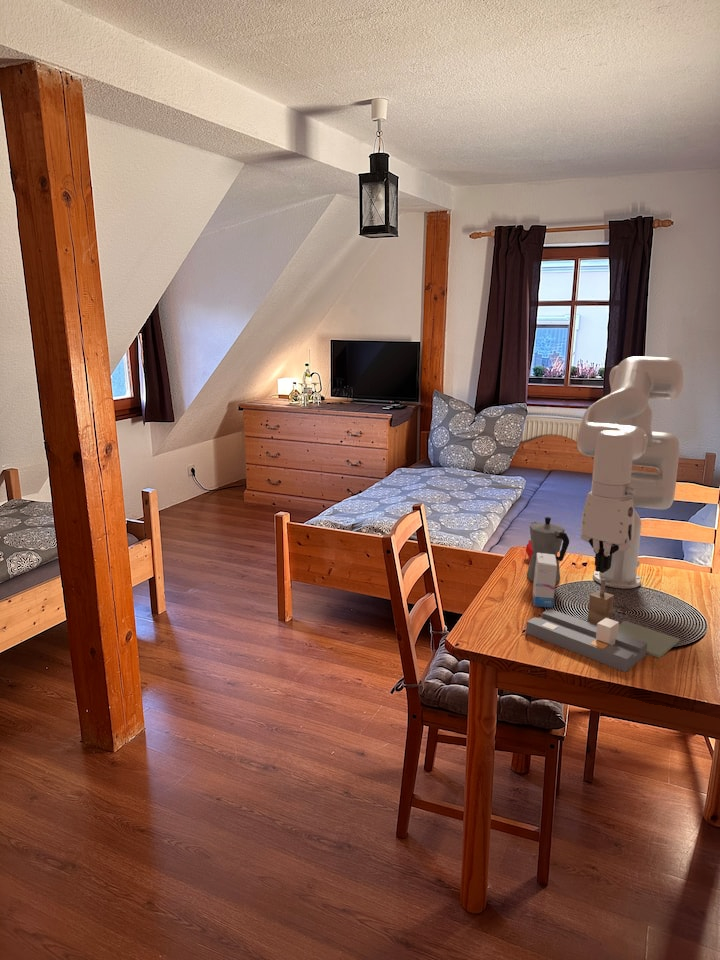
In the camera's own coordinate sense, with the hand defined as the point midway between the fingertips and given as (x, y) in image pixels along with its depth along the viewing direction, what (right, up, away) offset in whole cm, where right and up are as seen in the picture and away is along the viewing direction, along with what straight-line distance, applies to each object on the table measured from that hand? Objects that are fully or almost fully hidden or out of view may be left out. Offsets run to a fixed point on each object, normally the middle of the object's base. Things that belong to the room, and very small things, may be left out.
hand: (602, 570), depth 146 cm
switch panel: (-2, -17, +6) cm, 19 cm away
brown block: (+5, -15, +15) cm, 22 cm away
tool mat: (+12, -17, +8) cm, 22 cm away
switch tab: (+2, -16, +2) cm, 17 cm away
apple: (+1, -5, +58) cm, 58 cm away
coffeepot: (-1, -8, +42) cm, 43 cm away
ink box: (-5, -12, +29) cm, 32 cm away
